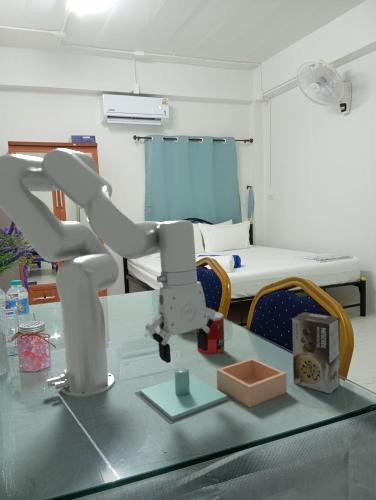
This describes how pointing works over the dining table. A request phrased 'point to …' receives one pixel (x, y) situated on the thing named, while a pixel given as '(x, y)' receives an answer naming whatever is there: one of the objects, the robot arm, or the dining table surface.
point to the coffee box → (316, 351)
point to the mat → (182, 416)
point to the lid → (182, 395)
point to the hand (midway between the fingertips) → (184, 355)
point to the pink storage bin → (251, 382)
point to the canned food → (215, 336)
